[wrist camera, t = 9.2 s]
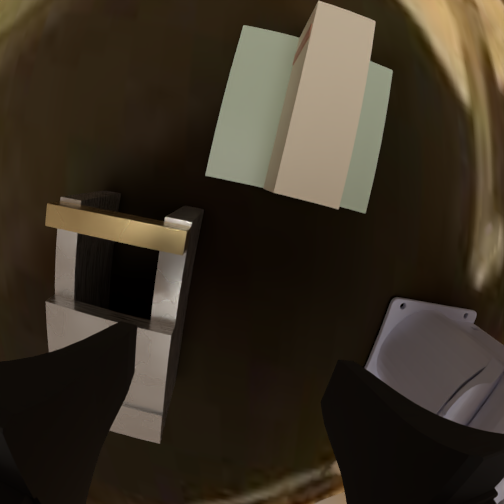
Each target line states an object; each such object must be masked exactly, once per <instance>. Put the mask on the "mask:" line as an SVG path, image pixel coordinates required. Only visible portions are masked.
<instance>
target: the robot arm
mask: <svg viewBox="0 0 504 504" xmlns="http://www.w3.org/2000/svg"><path fill="white" fill-rule="evenodd" d="M402 303H404V305H403V306H402V307H400V305H401V304H402ZM464 315H465V316H464ZM476 316H477V313H476V312H475V311H474V310H470V309H464V308H458V307H452V306H446V305H440V304H435V303H429V302H423V301H417V300H412V299H406V298H400V297H395V298H393V299H392V300H391V302H390V304H389V307H388V310H387V313H386V315H385V318H384V321H383V323H382V326H381V329H380V331H379V334H378V336H377V339H376V341H375V344H374V346H373V349H372V351H371V354H370V356H369V359H368V361H367V363H366V366H365V368H363V367H362V366H360V365H359V364H357V363H355V362H354V361H346V360H338V362H337V364H336V367H335V369H334V372H333V374H332V377H331V379H330V382H329V384H328V386H327V389H326V391H325V394H324V396H323V398H322V400H321V407H322V414H323V419H324V424H325V427H326V431H327V434H328V437H329V440H330V442H331V445H332V448H333V451H334V454H335V457H336V460H337V463H338V466H339V468H340V471H341V476H342V480H343V485H344V490H345V495H346V502H347V504H504V345H502V344H501V343H500V342H498V341H497V340H496V339H494V338H493V337H491V336H490V335H489V334H487V333H486V332H485V331H483V330H482V329H480V328H479V327H478V326H476V325H475V324H474V321H475V319H476ZM136 339H137V325H135V324H131V323H127V322H123V321H120V322H118V323H116V324H113V325H111V326H109V327H108V328H106V329H104V330H102V331H100V332H98V333H96V334H93V335H91V336H89V337H87V338H85V339H83V340H81V341H78V342H76V343H73V344H71V345H69V346H66V347H64V348H61V349H58V350H55V351H52V352H49V353H45V354H42V355H38V356H34V357H29V358H23V359H17V360H12V361H2V362H0V504H86V499H87V495H88V491H89V487H90V484H91V480H92V476H93V473H94V469H95V466H96V463H97V460H98V457H99V454H100V451H101V448H102V445H103V443H104V441H105V438H106V436H107V434H108V432H109V430H110V428H111V426H112V424H113V422H114V420H115V418H116V416H117V414H118V412H119V410H120V408H121V406H122V404H123V402H124V400H125V398H126V396H127V394H128V391H129V388H130V385H131V382H132V379H133V376H134V373H135V355H136Z"/></svg>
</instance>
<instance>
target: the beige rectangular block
mask: <svg viewBox="0 0 504 504" xmlns="http://www.w3.org/2000/svg"><path fill="white" fill-rule="evenodd" d="M375 22H376V21H373V20H371V19H369V18H366V17H364V16H361V15H358V14H356V13H353V12H351V11H348V10H345V9H342V8H339V7H336V6H333V5H330V4H327V3H324V2H321V1H318V3H317V5H316V7H315V8H314V10H313V12H312V14H311V16H310V18H309V20H308V22H307V24H306V26H305V28H304V30H303V32H302V34H301V36H300V38H299V42H298V46H297V50H296V54H295V57H294V61H293V67H292V71H291V75H290V79H289V83H288V87H287V91H286V96H285V100H284V104H283V108H282V112H281V116H280V121H279V125H278V129H277V133H276V137H275V141H274V146H273V150H272V154H271V158H270V162H269V167H268V171H267V175H266V179H265V183H264V188H263V189H265V190H268V191H270V192H273V193H277V194H281V195H285V196H289V197H293V198H297V199H301V200H305V201H309V202H312V203H316V204H320V205H324V206H328V207H331V208H335V209H339V206H340V202H341V198H342V194H343V190H344V186H345V182H346V178H347V173H348V169H349V165H350V160H351V156H352V151H353V147H354V142H355V137H356V133H357V128H358V123H359V118H360V113H361V108H362V103H363V97H364V92H365V86H366V81H367V75H368V69H369V63H370V56H371V50H372V43H373V36H374V29H375Z"/></svg>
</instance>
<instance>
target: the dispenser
mask: <svg viewBox="0 0 504 504" xmlns="http://www.w3.org/2000/svg"><path fill="white" fill-rule="evenodd" d="M120 198H121V193H116V192H111V191H105V190H104V191H97V192H90V193H83V194H76V195H70V196H63V197H61V199H60V201H58V202H53V203H48V204H47V213H46V224H45V226H49V227H54V228H58V229H57V243H56V265H55V295H54V296H52V297H51V298H50V299H48V300H47V301H46V318H47V334H48V345H49V352H52V351H55V350H58V349H61V348H64V347H66V346H69V345H71V344H73V343H76V342H78V341H81V340H83V339H85V338H87V337H89V336H91V335H93V334H96V333H98V332H100V331H102V330H104V329H106V328H108V327H109V326H111V325H113V324H116V323H118V322H120V321H123V322H127V323H131V324H135V325H137V339H136V355H135V373H134V376H133V379H132V382H131V385H130V388H129V391H128V394H127V396H126V398H125V400H124V402H123V404H122V406H121V408H120V410H119V412H118V414H117V416H116V418H115V420H114V422H113V424H112V426H111V428H110V431H114V432H117V433H120V434H124V435H128V436H131V437H135V438H139V439H143V440H147V441H151V442H155V443H160V441H161V437H162V433H163V429H164V424H165V420H166V416H167V412H168V408H169V404H170V400H171V396H172V392H173V389H174V385H175V381H176V376H177V368H178V361H179V353H180V346H181V340H182V333H183V326H184V320H185V313H186V307H187V301H188V295H189V289H190V283H191V277H192V271H193V266H194V260H195V255H196V249H197V244H198V239H199V233H200V228H201V223H202V218H203V213H204V209H200V208H195V207H190V206H183V207H181V208H180V209H178V210H176V211H174V212H173V213H171V214H169V215H167V216H166V217H165V221H160V220H155V219H150V218H145V217H140V216H135V215H130V214H125V213H120V212H118V210H119V204H120ZM114 241H116V242H121V243H126V244H130V245H135V246H139V247H144V248H149V249H154V250H158V251H160V252H159V258H158V265H157V272H156V280H155V288H154V296H153V304H152V313H151V320H148V319H143V318H139V317H135V316H131V315H127V314H123V313H119V312H115V311H112V310H109V296H110V282H111V269H112V259H113V249H114Z"/></svg>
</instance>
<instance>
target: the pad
mask: <svg viewBox="0 0 504 504" xmlns="http://www.w3.org/2000/svg"><path fill="white" fill-rule="evenodd" d="M298 42H299V38H298V37H295V36H291V35H287V34H283V33H279V32H274V31H270V30H265V29H261V28H256V27H251V26H245V25H244V26H243V29H242V32H241V36H240V39H239V43H238V46H237V50H236V53H235V57H234V60H233V64H232V68H231V71H230V75H229V79H228V82H227V86H226V90H225V94H224V98H223V102H222V106H221V110H220V114H219V118H218V122H217V126H216V130H215V135H214V139H213V143H212V147H211V152H210V156H209V161H208V165H207V170H206V174H205V176H210V177H215V178H219V179H224V180H229V181H234V182H239V183H243V184H248V185H253V186H257V187H262V188H264V183H265V179H266V175H267V171H268V167H269V162H270V158H271V154H272V150H273V146H274V141H275V137H276V133H277V129H278V125H279V121H280V116H281V112H282V108H283V104H284V100H285V96H286V91H287V87H288V83H289V79H290V75H291V71H292V67H293V61H294V57H295V54H296V50H297V46H298ZM392 72H393V70H390V69H388V68H386V67H383V66H381V65H378V64H376V63H373V62H371V61H370V63H369V69H368V75H367V81H366V86H365V92H364V97H363V103H362V108H361V113H360V118H359V123H358V128H357V133H356V137H355V142H354V147H353V151H352V156H351V160H350V165H349V169H348V173H347V178H346V182H345V186H344V190H343V194H342V198H341V202H340V206H339V207H343V208H347V209H351V210H354V211H358V212H361V213H366V209H367V205H368V201H369V197H370V193H371V188H372V184H373V180H374V175H375V170H376V166H377V161H378V156H379V151H380V146H381V141H382V135H383V130H384V124H385V118H386V112H387V106H388V100H389V93H390V86H391V79H392Z"/></svg>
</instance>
